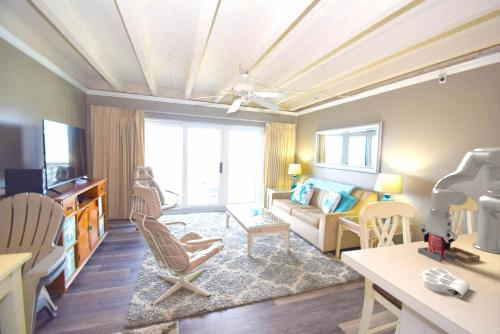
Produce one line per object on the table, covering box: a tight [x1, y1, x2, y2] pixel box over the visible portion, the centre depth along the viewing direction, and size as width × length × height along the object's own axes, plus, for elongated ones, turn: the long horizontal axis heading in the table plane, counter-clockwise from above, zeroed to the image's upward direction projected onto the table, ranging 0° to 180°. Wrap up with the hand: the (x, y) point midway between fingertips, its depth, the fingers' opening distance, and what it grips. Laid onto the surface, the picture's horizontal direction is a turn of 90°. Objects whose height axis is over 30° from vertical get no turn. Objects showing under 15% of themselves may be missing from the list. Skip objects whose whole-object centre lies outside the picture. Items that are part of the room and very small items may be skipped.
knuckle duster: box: [417, 267, 471, 299], centre depth 89 cm, size 3×18×15 cm
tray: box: [446, 246, 481, 264], centre depth 115 cm, size 11×11×2 cm
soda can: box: [427, 233, 446, 259], centre depth 114 cm, size 7×7×12 cm
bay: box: [417, 246, 456, 263], centre depth 114 cm, size 11×11×2 cm
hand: (436, 245), depth 114 cm, fingers open, 9 cm apart
